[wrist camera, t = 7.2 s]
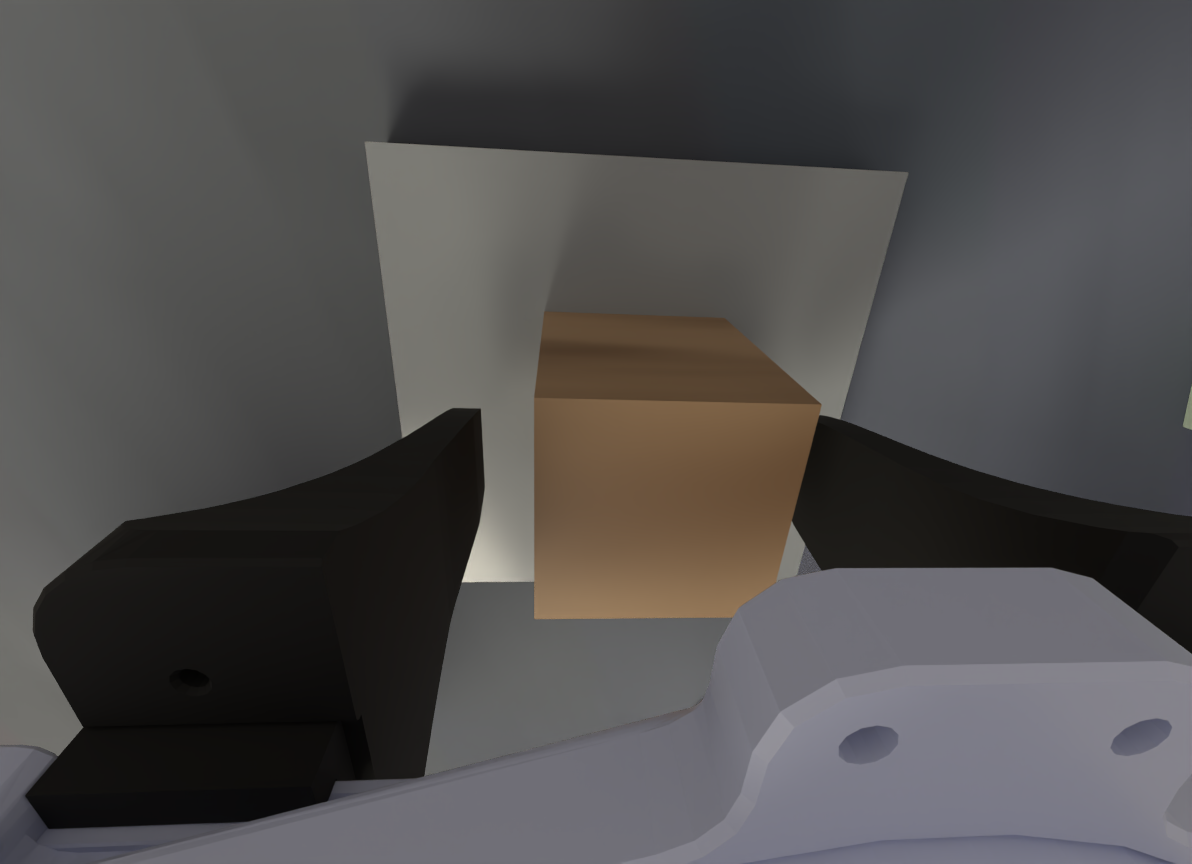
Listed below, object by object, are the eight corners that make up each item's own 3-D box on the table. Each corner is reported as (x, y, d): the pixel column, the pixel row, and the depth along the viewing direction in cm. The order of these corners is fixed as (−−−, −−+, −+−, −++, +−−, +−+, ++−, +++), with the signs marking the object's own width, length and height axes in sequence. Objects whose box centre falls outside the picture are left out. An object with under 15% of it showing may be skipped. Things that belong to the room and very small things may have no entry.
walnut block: (700, 472, 15) (767, 616, 10) (543, 471, 15) (533, 618, 10) (724, 317, 13) (821, 404, 8) (544, 311, 13) (534, 397, 8)
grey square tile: (778, 551, 19) (795, 580, 17) (431, 551, 18) (420, 582, 16) (873, 172, 13) (908, 172, 12) (386, 145, 12) (364, 141, 11)
